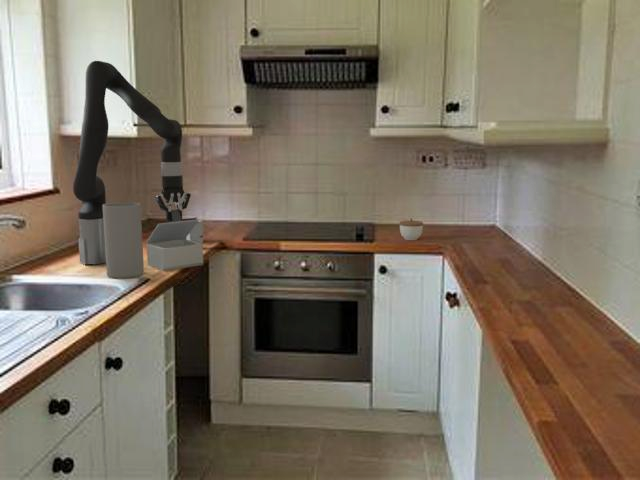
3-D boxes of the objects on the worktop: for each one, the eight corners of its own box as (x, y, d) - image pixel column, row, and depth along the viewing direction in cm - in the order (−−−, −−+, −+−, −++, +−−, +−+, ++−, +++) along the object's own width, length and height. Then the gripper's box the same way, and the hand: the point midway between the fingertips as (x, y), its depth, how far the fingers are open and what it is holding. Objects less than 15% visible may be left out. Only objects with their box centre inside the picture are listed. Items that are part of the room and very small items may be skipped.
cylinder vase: (147, 270, 233) (144, 202, 229) (139, 278, 221) (135, 206, 216) (113, 271, 233) (108, 202, 228) (102, 279, 221) (97, 206, 216)
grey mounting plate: (158, 224, 231) (154, 211, 233) (146, 243, 242) (142, 230, 244) (198, 220, 241) (193, 207, 243) (185, 238, 252) (180, 226, 253)
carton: (163, 271, 233) (162, 249, 231) (147, 264, 243) (146, 243, 242) (203, 265, 242) (202, 244, 241) (186, 259, 253) (185, 239, 252)
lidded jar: (401, 236, 303) (401, 216, 301) (424, 237, 300) (424, 217, 298) (397, 240, 292) (397, 219, 291) (421, 241, 290) (421, 220, 288)
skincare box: (190, 250, 271) (189, 222, 269) (186, 249, 274) (185, 220, 272) (204, 249, 274) (203, 220, 272) (199, 247, 278) (198, 219, 276)
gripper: (158, 175, 229) (161, 224, 232) (194, 173, 238) (196, 220, 241) (149, 175, 235) (152, 222, 238) (184, 173, 244) (187, 218, 246)
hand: (174, 221), depth 239 cm, fingers closed on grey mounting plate, 3 cm apart
